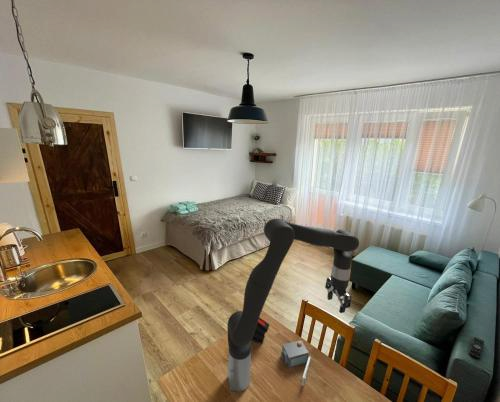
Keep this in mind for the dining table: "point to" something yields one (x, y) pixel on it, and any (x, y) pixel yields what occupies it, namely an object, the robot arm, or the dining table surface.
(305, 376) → the side door
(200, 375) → the dining table surface
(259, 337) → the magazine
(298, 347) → the camera body
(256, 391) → the dining table surface
